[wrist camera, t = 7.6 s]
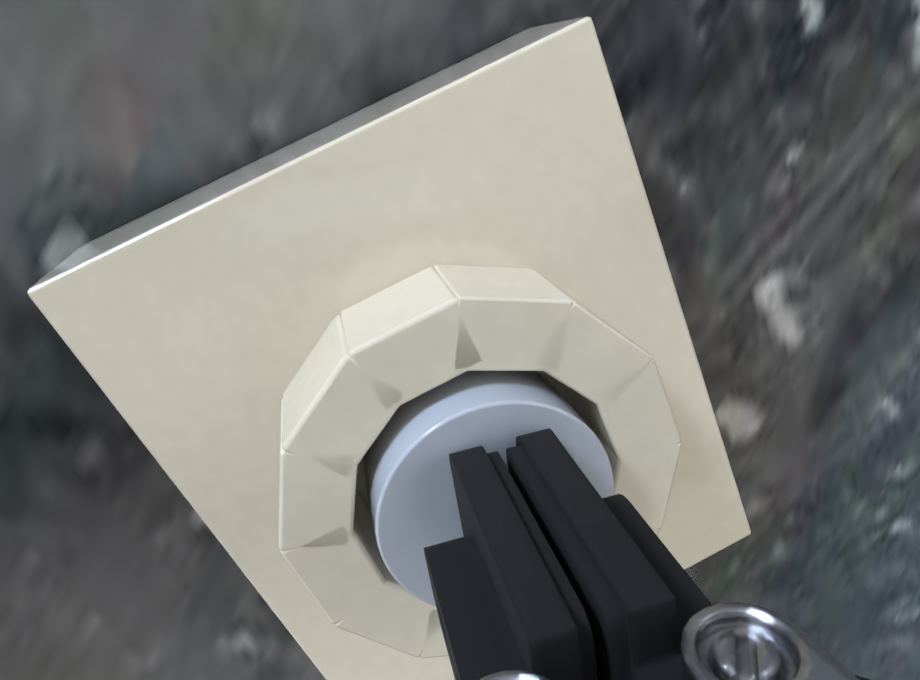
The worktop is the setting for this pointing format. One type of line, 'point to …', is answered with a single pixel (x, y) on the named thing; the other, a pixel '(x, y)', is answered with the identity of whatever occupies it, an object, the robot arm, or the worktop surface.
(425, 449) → the pale blue cylinder
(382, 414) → the button base
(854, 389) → the worktop surface
